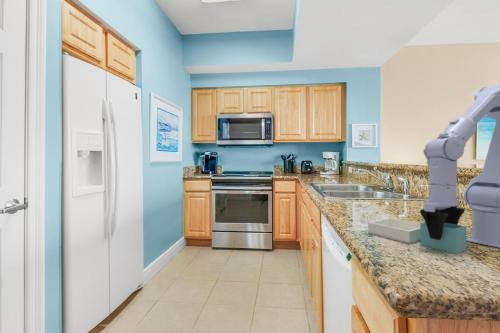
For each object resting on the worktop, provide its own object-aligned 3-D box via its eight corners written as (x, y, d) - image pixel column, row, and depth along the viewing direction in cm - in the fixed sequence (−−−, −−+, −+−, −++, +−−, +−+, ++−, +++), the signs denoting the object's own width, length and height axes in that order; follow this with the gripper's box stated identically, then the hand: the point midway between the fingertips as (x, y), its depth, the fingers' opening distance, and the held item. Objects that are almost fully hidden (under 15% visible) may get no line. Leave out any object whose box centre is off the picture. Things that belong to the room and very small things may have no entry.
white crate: (388, 228, 84) (388, 218, 84) (429, 237, 74) (429, 225, 74) (368, 233, 79) (368, 222, 79) (409, 244, 68) (409, 231, 68)
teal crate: (430, 241, 70) (430, 220, 70) (466, 249, 63) (466, 226, 63) (420, 245, 68) (420, 222, 67) (456, 254, 61) (456, 229, 61)
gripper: (438, 182, 72) (437, 229, 73) (411, 184, 65) (411, 236, 65) (469, 184, 66) (468, 235, 67) (443, 186, 59) (443, 244, 59)
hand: (442, 236), depth 65 cm, fingers open, 7 cm apart
